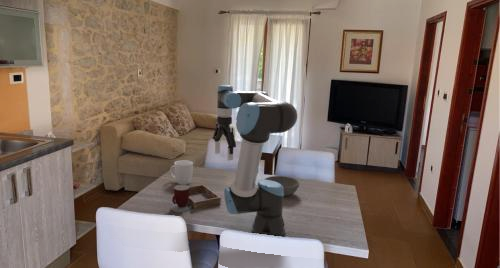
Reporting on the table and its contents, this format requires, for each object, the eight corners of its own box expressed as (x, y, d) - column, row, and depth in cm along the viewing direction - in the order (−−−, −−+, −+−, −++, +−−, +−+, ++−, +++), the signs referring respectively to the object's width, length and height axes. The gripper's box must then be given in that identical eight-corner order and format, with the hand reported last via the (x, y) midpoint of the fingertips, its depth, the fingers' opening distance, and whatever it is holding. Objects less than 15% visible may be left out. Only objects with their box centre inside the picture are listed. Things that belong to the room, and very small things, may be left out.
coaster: (193, 209, 183) (193, 208, 183) (174, 213, 178) (174, 212, 178) (185, 202, 192) (185, 201, 191) (167, 206, 186) (167, 205, 186)
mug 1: (165, 183, 219) (165, 162, 216) (175, 178, 229) (175, 158, 226) (187, 187, 214) (187, 166, 211) (195, 181, 224) (196, 161, 221)
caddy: (220, 204, 192) (220, 197, 191) (194, 209, 183) (194, 202, 183) (203, 190, 209) (203, 184, 208) (178, 195, 201) (178, 188, 200)
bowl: (279, 204, 195) (280, 190, 193) (254, 192, 210) (255, 179, 208) (305, 196, 208) (306, 183, 206) (280, 185, 223) (281, 173, 222)
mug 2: (181, 211, 179) (181, 193, 177) (167, 208, 182) (167, 190, 180) (192, 204, 189) (192, 186, 186) (179, 201, 192) (179, 183, 189)
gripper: (244, 119, 172) (242, 162, 177) (219, 111, 193) (218, 150, 197) (230, 120, 168) (229, 164, 173) (206, 112, 189) (206, 151, 193)
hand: (223, 156), depth 185 cm, fingers open, 13 cm apart
